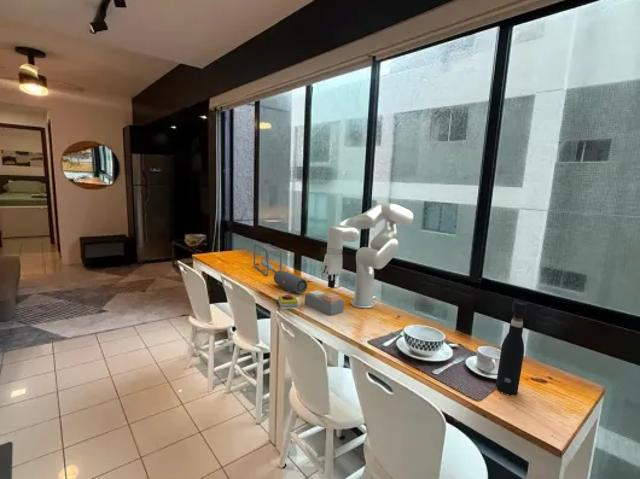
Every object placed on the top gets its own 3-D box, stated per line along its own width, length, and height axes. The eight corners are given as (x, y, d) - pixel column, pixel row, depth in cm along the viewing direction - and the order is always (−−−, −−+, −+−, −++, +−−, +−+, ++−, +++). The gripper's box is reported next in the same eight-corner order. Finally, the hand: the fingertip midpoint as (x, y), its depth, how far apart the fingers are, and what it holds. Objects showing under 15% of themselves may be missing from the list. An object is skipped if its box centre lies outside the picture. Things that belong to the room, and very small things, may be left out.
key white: (317, 299, 186) (317, 290, 185) (325, 302, 181) (325, 293, 181) (309, 301, 182) (309, 292, 181) (316, 304, 177) (317, 295, 177)
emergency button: (294, 291, 190) (299, 301, 176) (293, 299, 191) (299, 309, 176) (277, 292, 188) (281, 301, 173) (277, 299, 188) (281, 309, 174)
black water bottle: (510, 384, 117) (523, 299, 112) (521, 396, 110) (536, 306, 106) (491, 384, 117) (504, 298, 112) (502, 395, 110) (516, 305, 106)
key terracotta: (330, 301, 178) (331, 292, 178) (339, 305, 174) (339, 295, 173) (322, 304, 174) (323, 294, 174) (330, 307, 170) (331, 297, 169)
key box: (317, 301, 188) (317, 290, 187) (343, 312, 175) (344, 300, 174) (304, 304, 182) (305, 293, 181) (330, 316, 168) (331, 304, 167)
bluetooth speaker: (272, 286, 211) (273, 270, 209) (284, 284, 217) (285, 268, 216) (294, 296, 194) (295, 279, 193) (307, 294, 200) (308, 277, 199)
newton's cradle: (253, 266, 257) (254, 243, 255) (266, 265, 262) (267, 242, 260) (266, 276, 231) (267, 250, 229) (281, 275, 236) (282, 250, 234)
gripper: (339, 249, 178) (335, 283, 180) (318, 250, 167) (315, 287, 170) (350, 251, 173) (346, 287, 175) (329, 253, 162) (325, 291, 165)
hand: (331, 287), depth 172 cm, fingers closed
